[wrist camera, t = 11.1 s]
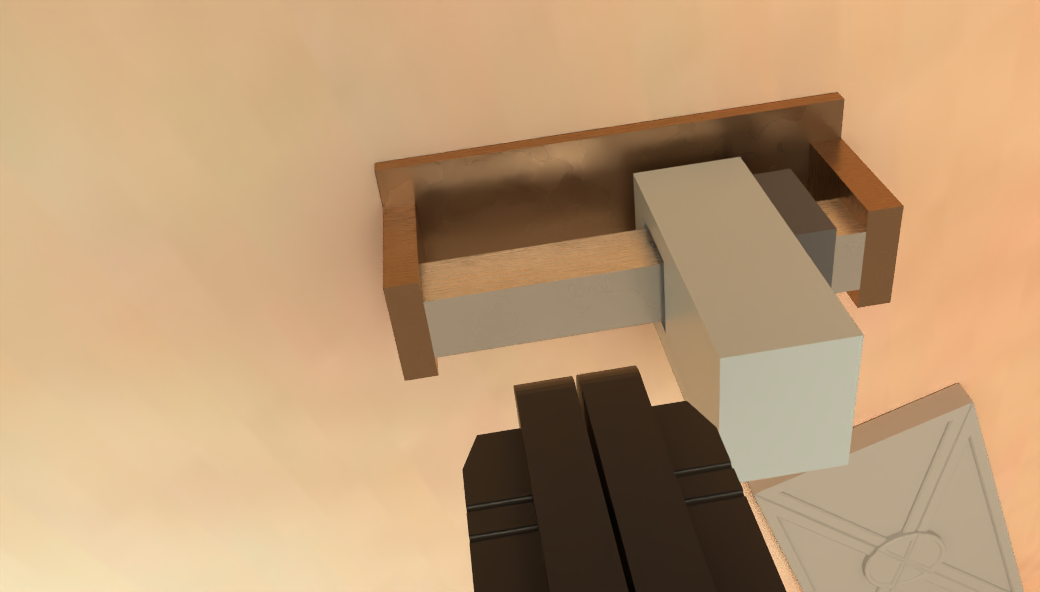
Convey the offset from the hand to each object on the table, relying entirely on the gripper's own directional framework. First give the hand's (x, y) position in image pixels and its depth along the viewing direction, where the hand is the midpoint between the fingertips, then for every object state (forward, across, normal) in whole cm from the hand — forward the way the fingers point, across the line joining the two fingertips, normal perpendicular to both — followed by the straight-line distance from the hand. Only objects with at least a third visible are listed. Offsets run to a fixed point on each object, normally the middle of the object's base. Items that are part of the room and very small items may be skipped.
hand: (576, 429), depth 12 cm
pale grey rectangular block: (+30, -9, +16) cm, 35 cm away
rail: (+32, -6, +16) cm, 36 cm away
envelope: (+33, -24, +45) cm, 61 cm away
